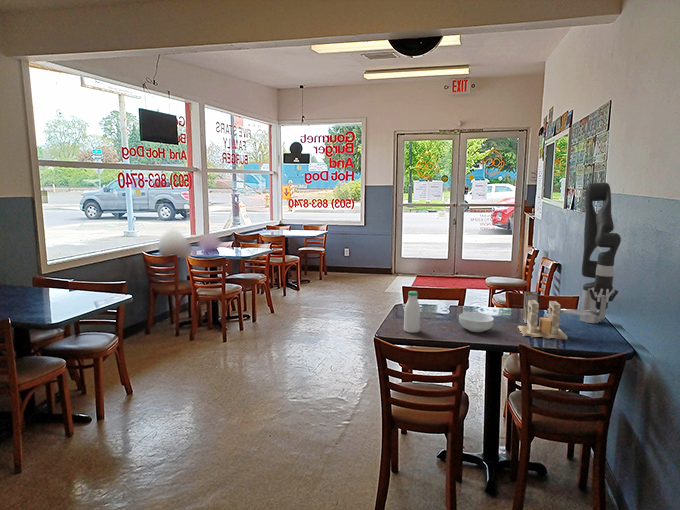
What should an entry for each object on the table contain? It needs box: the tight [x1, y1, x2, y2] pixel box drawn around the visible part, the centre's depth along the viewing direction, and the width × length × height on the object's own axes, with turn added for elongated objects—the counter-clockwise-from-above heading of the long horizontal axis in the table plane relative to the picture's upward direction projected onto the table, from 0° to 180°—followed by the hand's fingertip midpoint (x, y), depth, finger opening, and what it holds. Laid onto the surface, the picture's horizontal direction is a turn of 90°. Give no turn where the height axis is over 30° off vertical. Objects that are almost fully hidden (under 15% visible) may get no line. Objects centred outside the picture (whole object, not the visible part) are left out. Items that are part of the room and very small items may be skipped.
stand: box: [517, 300, 568, 341], centre depth 242 cm, size 20×14×16 cm
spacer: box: [538, 317, 551, 333], centre depth 242 cm, size 4×6×6 cm, turn 172°
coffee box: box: [522, 291, 541, 325], centre depth 262 cm, size 9×6×16 cm
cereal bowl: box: [458, 311, 495, 333], centre depth 247 cm, size 17×17×7 cm
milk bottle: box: [403, 290, 421, 334], centre depth 243 cm, size 8×8×20 cm
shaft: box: [560, 295, 607, 320], centre depth 239 cm, size 23×4×10 cm, turn 82°
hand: (601, 309), depth 237 cm, fingers closed on shaft, 2 cm apart
